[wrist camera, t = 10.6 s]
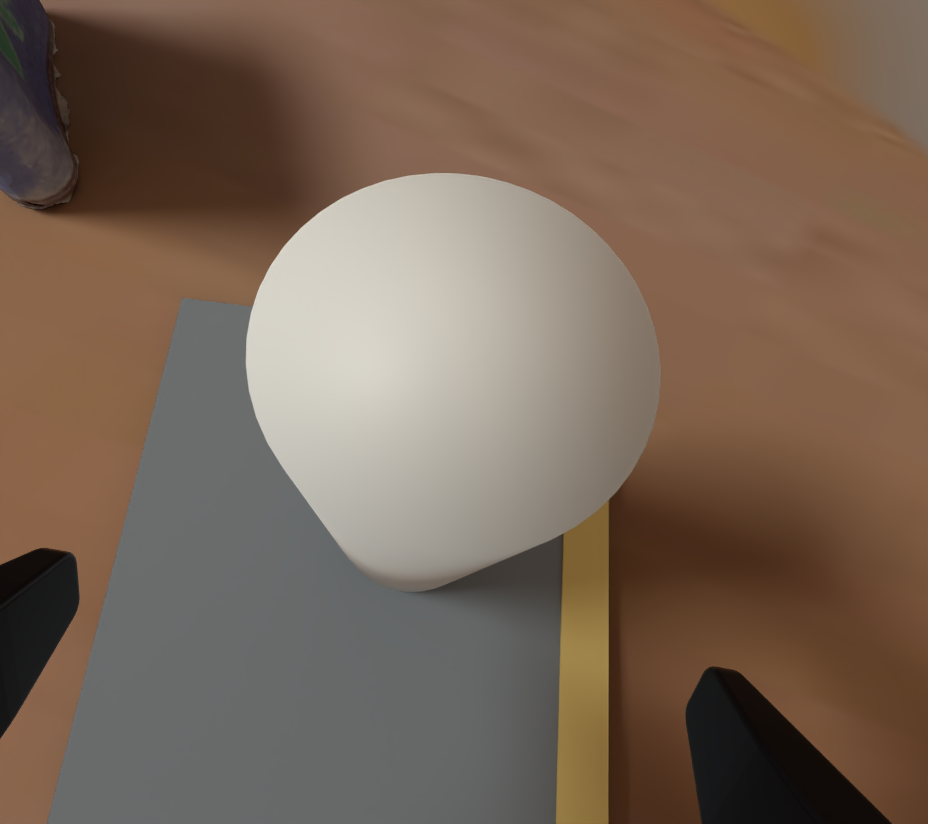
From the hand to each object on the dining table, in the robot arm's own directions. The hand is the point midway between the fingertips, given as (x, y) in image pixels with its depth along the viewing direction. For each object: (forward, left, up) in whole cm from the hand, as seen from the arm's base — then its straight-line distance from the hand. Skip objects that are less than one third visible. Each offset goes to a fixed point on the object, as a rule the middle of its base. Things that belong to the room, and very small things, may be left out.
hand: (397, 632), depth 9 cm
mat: (0, +1, -9) cm, 10 cm away
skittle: (+3, 0, -9) cm, 9 cm away
